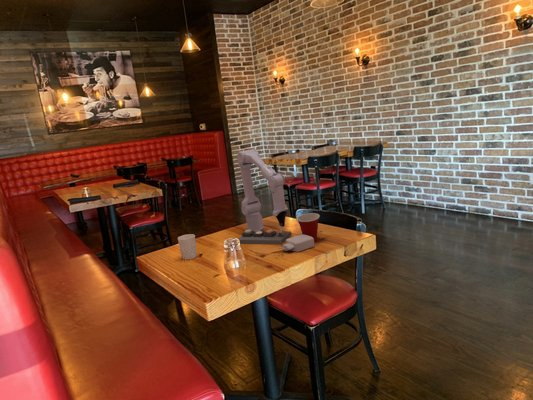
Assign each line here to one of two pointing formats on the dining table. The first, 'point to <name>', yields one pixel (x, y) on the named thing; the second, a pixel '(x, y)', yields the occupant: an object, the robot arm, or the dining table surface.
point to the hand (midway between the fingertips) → (282, 226)
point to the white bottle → (298, 243)
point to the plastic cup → (309, 224)
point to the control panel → (264, 237)
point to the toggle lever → (281, 227)
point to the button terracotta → (269, 231)
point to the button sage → (248, 231)
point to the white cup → (187, 246)
